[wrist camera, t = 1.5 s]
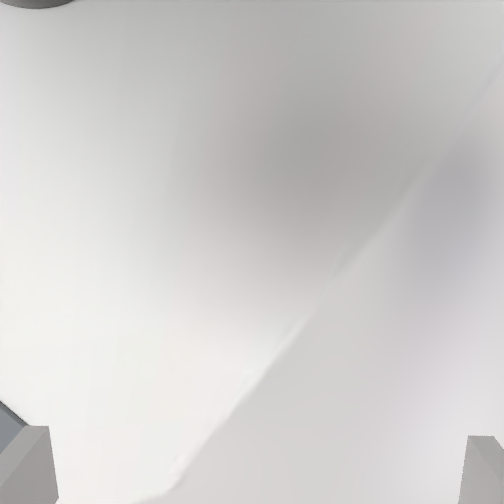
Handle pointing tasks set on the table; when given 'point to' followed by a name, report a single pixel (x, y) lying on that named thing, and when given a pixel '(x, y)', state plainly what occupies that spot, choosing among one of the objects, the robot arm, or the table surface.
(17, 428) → the slate mat
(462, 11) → the table surface
